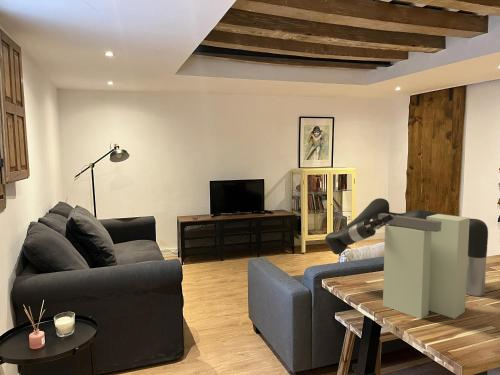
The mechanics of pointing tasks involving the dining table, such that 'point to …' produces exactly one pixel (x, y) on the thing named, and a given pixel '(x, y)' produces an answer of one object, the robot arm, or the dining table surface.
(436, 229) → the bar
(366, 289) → the dining table surface
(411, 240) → the block
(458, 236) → the stand
